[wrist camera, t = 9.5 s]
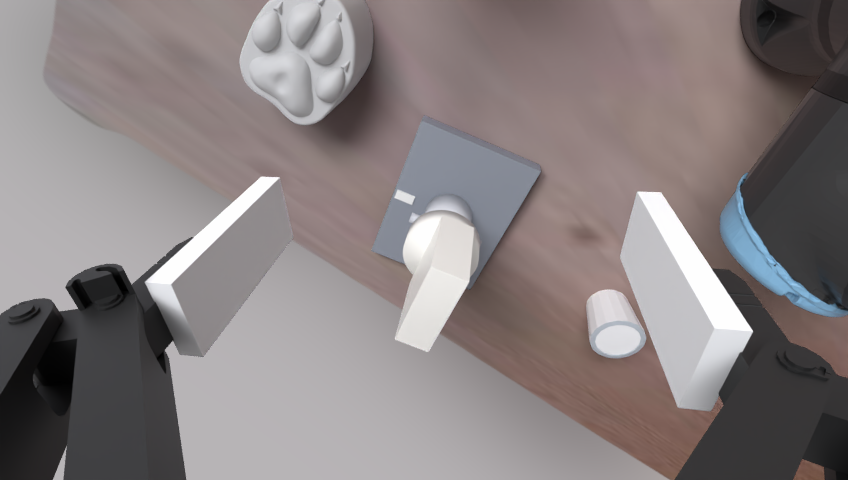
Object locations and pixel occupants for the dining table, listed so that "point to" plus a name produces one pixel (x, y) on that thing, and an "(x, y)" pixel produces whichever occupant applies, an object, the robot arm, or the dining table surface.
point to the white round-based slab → (436, 273)
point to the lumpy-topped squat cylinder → (307, 54)
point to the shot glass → (613, 325)
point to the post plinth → (456, 188)
